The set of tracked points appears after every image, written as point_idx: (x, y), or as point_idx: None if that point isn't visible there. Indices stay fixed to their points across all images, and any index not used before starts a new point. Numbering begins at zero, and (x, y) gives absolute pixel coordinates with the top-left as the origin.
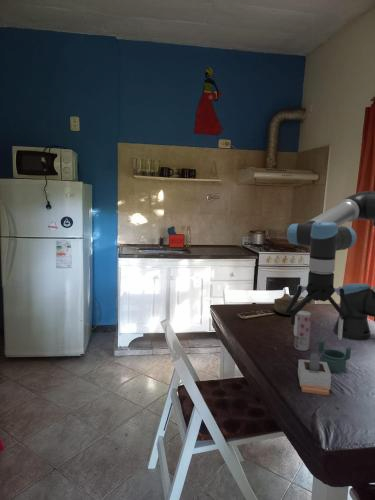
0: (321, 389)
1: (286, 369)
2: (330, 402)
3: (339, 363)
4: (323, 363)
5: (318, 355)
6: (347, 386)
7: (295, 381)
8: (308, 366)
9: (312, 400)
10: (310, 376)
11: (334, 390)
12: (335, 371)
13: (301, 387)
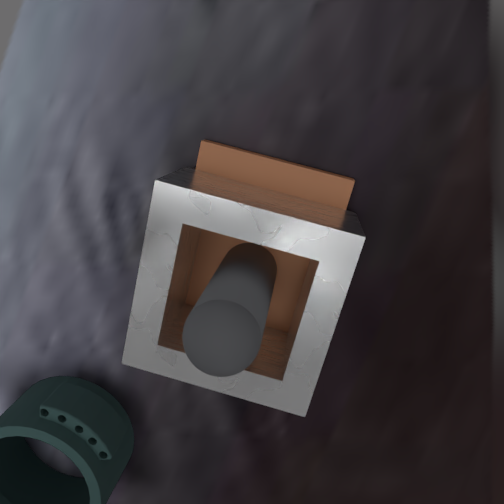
0: (235, 173)
1: (345, 422)
2: (226, 61)
3: (33, 407)
4: (150, 348)
5: (191, 335)
6: (67, 234)
7: None
8: None
9: (327, 81)
10: (298, 211)
11: None
12: (77, 381)
13: None
